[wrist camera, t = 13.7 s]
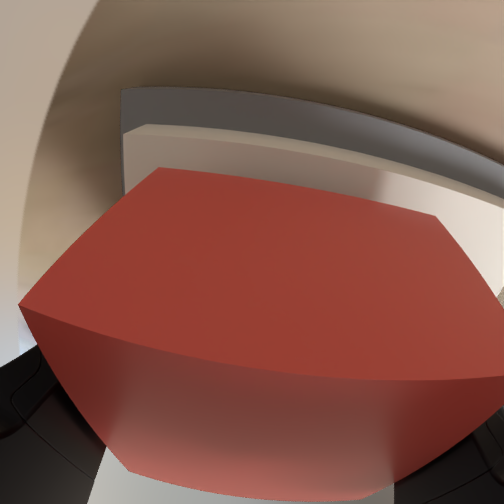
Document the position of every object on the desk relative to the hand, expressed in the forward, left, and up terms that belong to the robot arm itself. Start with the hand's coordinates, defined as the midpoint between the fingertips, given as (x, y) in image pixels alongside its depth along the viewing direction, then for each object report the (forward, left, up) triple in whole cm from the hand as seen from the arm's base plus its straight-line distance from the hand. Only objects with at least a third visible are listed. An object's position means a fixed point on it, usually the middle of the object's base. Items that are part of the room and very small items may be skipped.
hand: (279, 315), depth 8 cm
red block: (0, 0, -1) cm, 1 cm away
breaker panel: (-2, +4, -5) cm, 7 cm away
